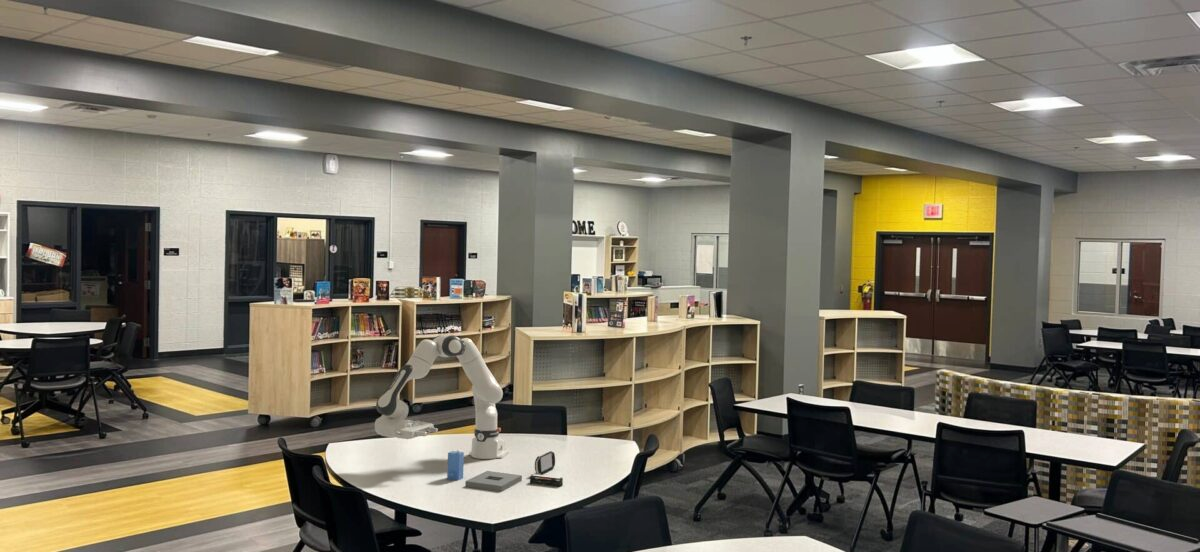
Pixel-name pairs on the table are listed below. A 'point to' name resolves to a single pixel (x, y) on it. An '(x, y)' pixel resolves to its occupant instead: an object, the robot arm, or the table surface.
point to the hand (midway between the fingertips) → (431, 432)
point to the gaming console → (545, 463)
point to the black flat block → (546, 480)
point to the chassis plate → (493, 481)
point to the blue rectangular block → (455, 465)
